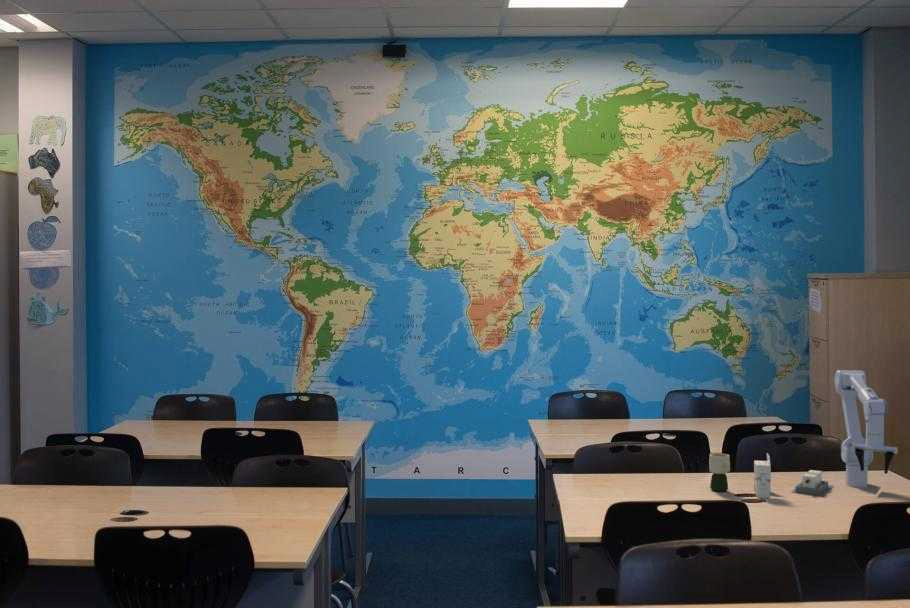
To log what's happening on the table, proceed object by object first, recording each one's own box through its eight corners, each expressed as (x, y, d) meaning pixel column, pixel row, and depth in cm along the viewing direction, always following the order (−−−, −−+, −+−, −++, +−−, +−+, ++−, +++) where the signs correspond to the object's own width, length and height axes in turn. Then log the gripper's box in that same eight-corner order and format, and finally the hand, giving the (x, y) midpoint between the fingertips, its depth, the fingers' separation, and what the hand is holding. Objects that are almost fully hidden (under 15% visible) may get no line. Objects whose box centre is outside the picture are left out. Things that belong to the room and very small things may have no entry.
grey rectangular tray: (803, 484, 340) (803, 476, 340) (834, 488, 334) (834, 480, 334) (790, 495, 324) (790, 486, 324) (823, 499, 318) (823, 490, 318)
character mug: (737, 492, 327) (737, 457, 327) (721, 494, 324) (721, 458, 324) (717, 486, 337) (717, 451, 337) (701, 488, 334) (702, 453, 334)
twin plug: (811, 484, 336) (811, 468, 336) (822, 486, 334) (823, 470, 334) (807, 488, 330) (807, 472, 330) (818, 490, 328) (818, 473, 328)
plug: (805, 489, 328) (805, 473, 328) (817, 491, 326) (817, 474, 325) (800, 493, 322) (801, 477, 321) (812, 495, 319) (812, 478, 319)
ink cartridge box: (753, 492, 328) (753, 451, 328) (767, 493, 327) (768, 452, 327) (756, 497, 320) (756, 456, 319) (770, 498, 319) (771, 456, 318)
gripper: (850, 432, 320) (850, 471, 320) (895, 436, 312) (895, 476, 312) (854, 430, 326) (853, 467, 326) (898, 434, 318) (898, 472, 318)
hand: (874, 471), depth 319 cm, fingers open, 7 cm apart
